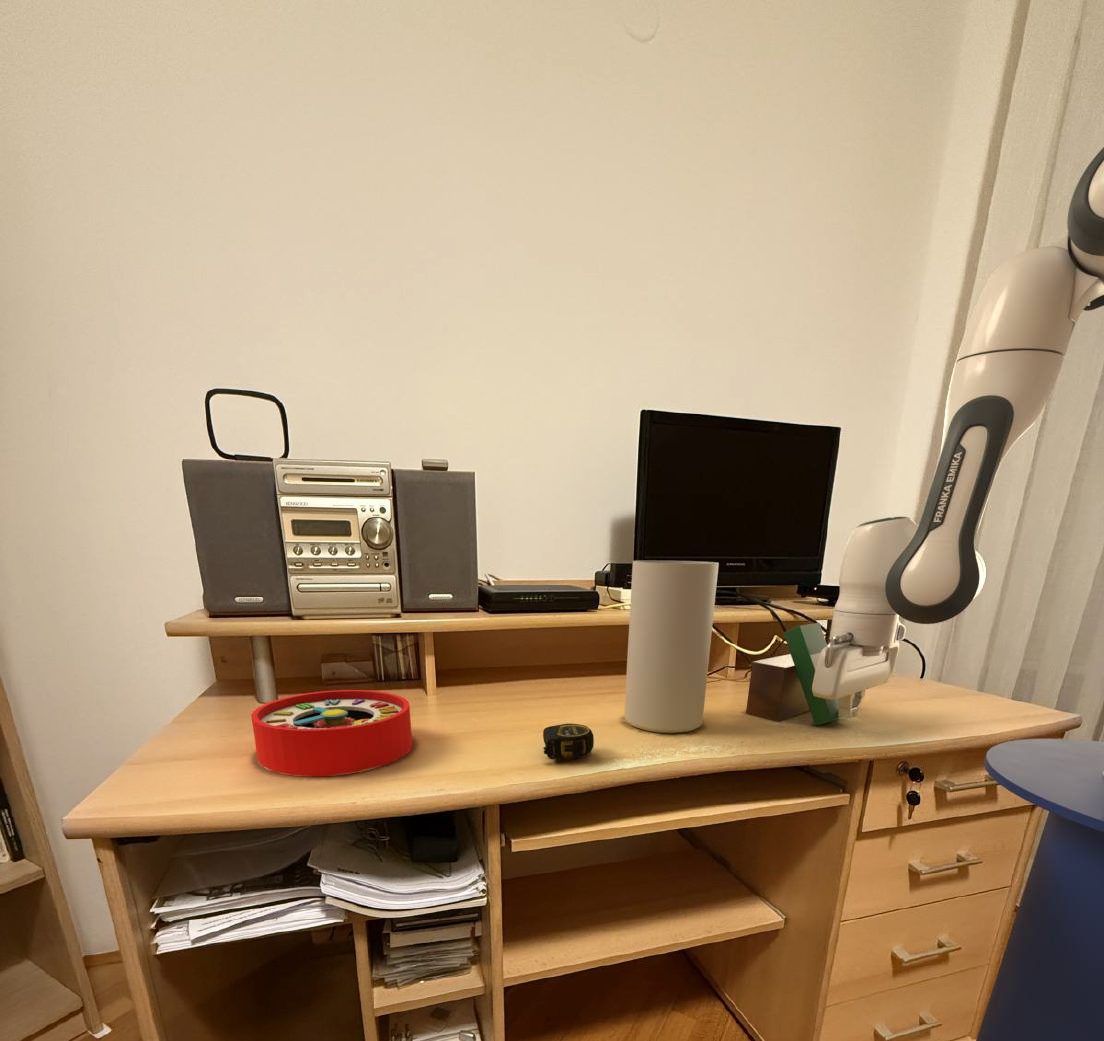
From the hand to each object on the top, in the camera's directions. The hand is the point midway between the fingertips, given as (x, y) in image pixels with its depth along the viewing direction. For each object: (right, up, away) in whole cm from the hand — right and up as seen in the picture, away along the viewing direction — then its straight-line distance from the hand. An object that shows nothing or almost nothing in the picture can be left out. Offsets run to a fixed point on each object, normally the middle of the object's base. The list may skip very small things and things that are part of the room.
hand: (846, 717), depth 93 cm
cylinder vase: (-29, -1, +1) cm, 29 cm away
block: (-7, +1, +9) cm, 11 cm away
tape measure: (-46, -6, -14) cm, 48 cm away
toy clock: (-77, -5, -13) cm, 78 cm away
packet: (-4, +7, +2) cm, 9 cm away
